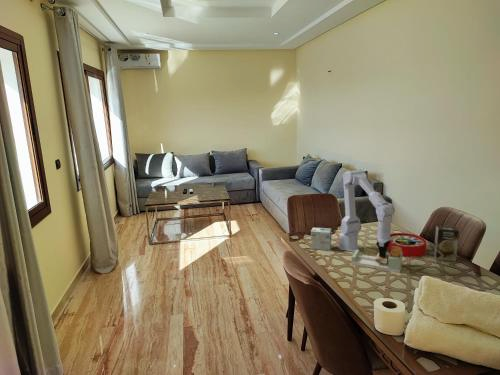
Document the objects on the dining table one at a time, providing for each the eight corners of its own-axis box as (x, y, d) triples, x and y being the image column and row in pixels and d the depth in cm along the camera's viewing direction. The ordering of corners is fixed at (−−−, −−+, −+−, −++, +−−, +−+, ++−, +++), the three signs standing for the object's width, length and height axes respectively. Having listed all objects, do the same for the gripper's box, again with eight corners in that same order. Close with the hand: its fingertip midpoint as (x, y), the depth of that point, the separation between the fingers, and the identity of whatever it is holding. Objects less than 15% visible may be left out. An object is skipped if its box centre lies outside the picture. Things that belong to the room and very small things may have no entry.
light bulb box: (331, 246, 193) (331, 228, 190) (330, 250, 186) (330, 232, 184) (312, 244, 196) (312, 226, 194) (310, 249, 190) (310, 230, 188)
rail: (351, 264, 170) (351, 252, 168) (356, 256, 178) (356, 244, 177) (399, 272, 159) (400, 260, 158) (401, 264, 168) (402, 251, 166)
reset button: (389, 260, 163) (390, 249, 161) (390, 256, 167) (391, 245, 165) (400, 262, 160) (401, 250, 159) (401, 258, 164) (402, 247, 163)
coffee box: (435, 259, 171) (438, 229, 167) (433, 254, 176) (435, 225, 173) (456, 261, 168) (459, 230, 164) (453, 256, 174) (456, 226, 170)
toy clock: (382, 232, 195) (420, 233, 191) (382, 242, 196) (419, 243, 192) (389, 246, 176) (431, 247, 172) (389, 256, 177) (430, 258, 173)
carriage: (375, 263, 165) (375, 250, 163) (378, 257, 172) (378, 244, 170) (386, 265, 162) (387, 251, 161) (388, 259, 169) (389, 245, 168)
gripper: (391, 234, 155) (389, 262, 158) (395, 224, 167) (393, 250, 170) (374, 232, 158) (373, 259, 161) (380, 223, 171) (378, 248, 174)
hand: (383, 255), depth 166 cm, fingers closed on carriage, 3 cm apart
